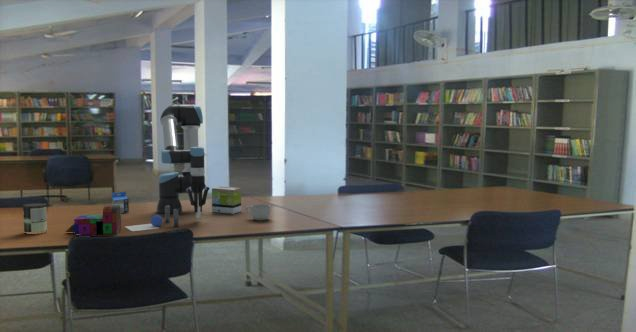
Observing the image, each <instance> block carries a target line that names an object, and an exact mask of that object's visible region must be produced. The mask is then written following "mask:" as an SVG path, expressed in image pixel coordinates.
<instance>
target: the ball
mask: <svg viewBox="0 0 636 332" xmlns="http://www.w3.org/2000/svg"><path fill="white" fill-rule="evenodd" d="M163 222H164V221H163V217H162V216H161V215H159V214H154V215H153V216H151V217H150V224H152V225H153V226H157V227H160V226H161V225H162V224H163Z"/></svg>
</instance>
